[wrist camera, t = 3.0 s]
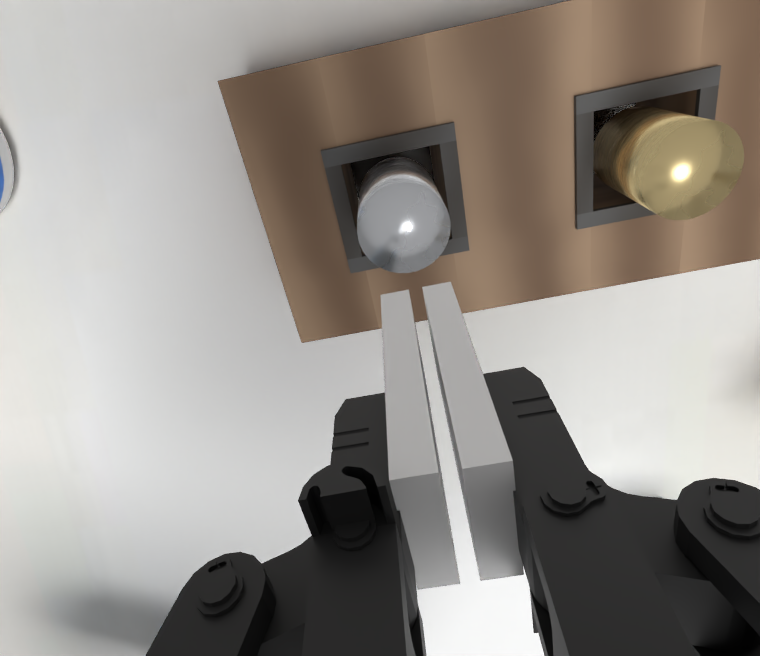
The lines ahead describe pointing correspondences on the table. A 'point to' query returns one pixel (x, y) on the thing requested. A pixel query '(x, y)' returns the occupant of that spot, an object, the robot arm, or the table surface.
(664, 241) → the walnut block
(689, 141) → the brass peg
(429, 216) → the steel peg
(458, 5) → the table surface
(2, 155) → the supplement tub
